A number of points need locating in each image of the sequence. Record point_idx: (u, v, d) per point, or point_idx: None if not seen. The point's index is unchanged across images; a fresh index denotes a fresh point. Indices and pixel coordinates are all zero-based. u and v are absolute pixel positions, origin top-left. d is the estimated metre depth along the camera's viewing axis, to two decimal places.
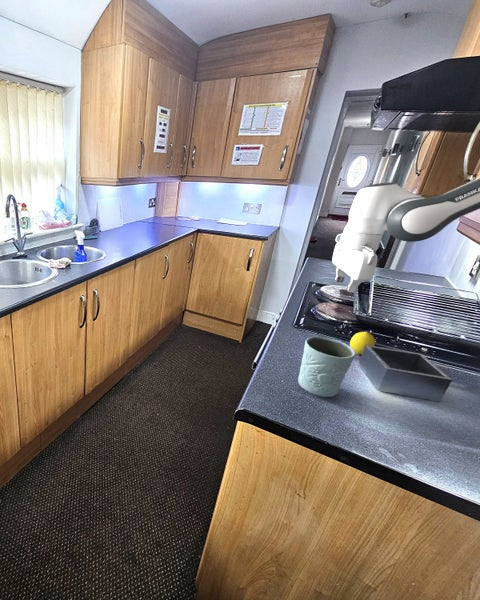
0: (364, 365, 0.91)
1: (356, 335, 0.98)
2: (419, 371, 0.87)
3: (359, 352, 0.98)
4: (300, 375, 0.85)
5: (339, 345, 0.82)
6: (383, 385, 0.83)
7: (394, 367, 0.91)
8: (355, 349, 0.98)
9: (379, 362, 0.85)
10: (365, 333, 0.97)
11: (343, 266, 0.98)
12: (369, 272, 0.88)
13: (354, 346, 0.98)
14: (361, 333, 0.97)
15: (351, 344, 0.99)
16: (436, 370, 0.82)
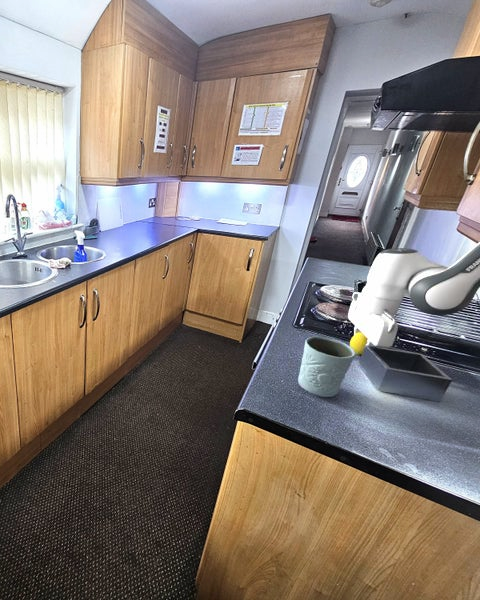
0: (364, 365, 0.91)
1: (356, 335, 0.98)
2: (419, 371, 0.87)
3: (359, 352, 0.98)
4: (300, 375, 0.85)
5: (339, 345, 0.82)
6: (383, 385, 0.83)
7: (394, 367, 0.91)
8: (355, 349, 0.98)
9: (379, 362, 0.85)
10: None
11: (361, 326, 0.97)
12: (389, 339, 0.87)
13: (354, 346, 0.98)
14: (361, 333, 0.97)
15: (351, 344, 0.99)
16: (436, 370, 0.82)
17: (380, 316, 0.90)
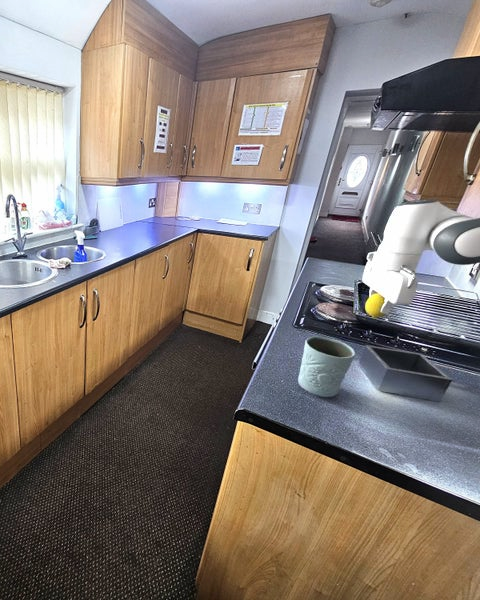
0: (364, 365, 0.91)
1: (372, 296, 0.93)
2: (419, 371, 0.87)
3: (375, 314, 0.93)
4: (300, 375, 0.85)
5: (339, 346, 0.82)
6: (383, 385, 0.83)
7: (394, 367, 0.91)
8: (371, 311, 0.93)
9: (379, 362, 0.85)
10: None
11: (377, 287, 0.92)
12: (409, 296, 0.82)
13: (370, 308, 0.93)
14: (377, 294, 0.93)
15: (367, 306, 0.94)
16: (436, 370, 0.82)
17: (398, 272, 0.85)
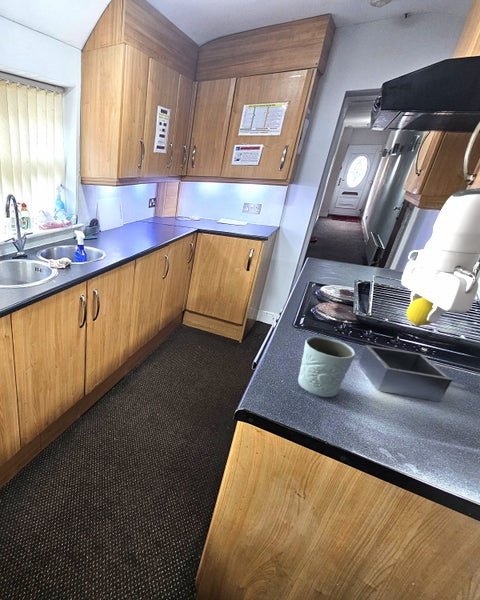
0: (364, 365, 0.91)
1: (416, 301, 0.81)
2: (419, 371, 0.87)
3: (420, 322, 0.80)
4: (300, 375, 0.85)
5: (339, 346, 0.82)
6: (383, 385, 0.83)
7: (394, 367, 0.91)
8: (414, 318, 0.81)
9: (379, 362, 0.85)
10: None
11: (422, 290, 0.80)
12: (466, 302, 0.70)
13: (414, 314, 0.80)
14: (422, 298, 0.80)
15: (409, 313, 0.82)
16: (436, 370, 0.82)
17: (452, 274, 0.72)
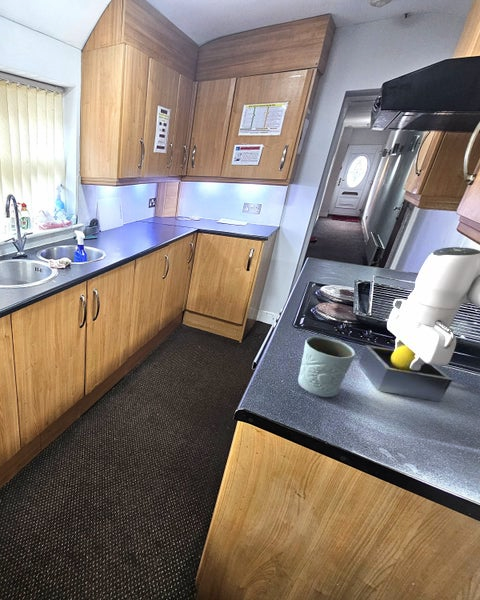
0: (364, 365, 0.91)
1: (399, 349, 0.84)
2: (419, 371, 0.87)
3: (403, 369, 0.84)
4: (300, 375, 0.85)
5: (339, 346, 0.82)
6: (383, 385, 0.83)
7: (394, 367, 0.91)
8: (398, 365, 0.84)
9: (379, 362, 0.85)
10: None
11: (405, 339, 0.83)
12: (445, 356, 0.73)
13: (397, 361, 0.84)
14: (406, 346, 0.84)
15: (393, 359, 0.85)
16: (436, 370, 0.82)
17: (433, 328, 0.76)
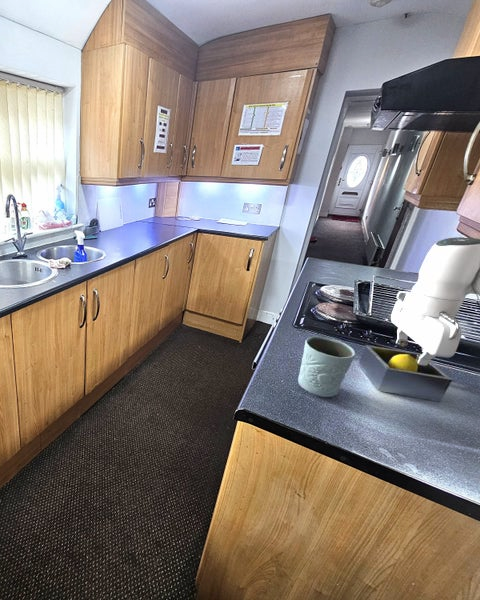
0: (364, 365, 0.91)
1: (395, 358, 0.85)
2: (419, 371, 0.87)
3: None
4: (300, 375, 0.85)
5: (339, 346, 0.82)
6: (383, 385, 0.83)
7: None
8: None
9: (379, 362, 0.85)
10: (406, 356, 0.84)
11: (410, 331, 0.82)
12: (451, 348, 0.72)
13: None
14: (401, 356, 0.85)
15: None
16: (436, 370, 0.82)
17: (437, 319, 0.75)
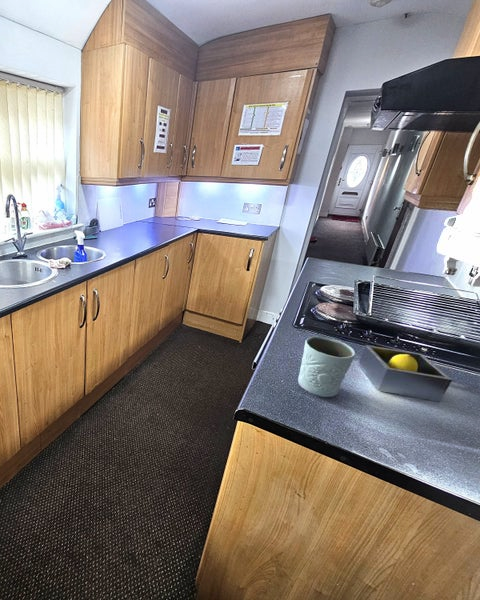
0: (364, 365, 0.91)
1: (395, 358, 0.85)
2: (419, 371, 0.87)
3: None
4: (300, 375, 0.85)
5: (339, 345, 0.82)
6: (383, 385, 0.83)
7: None
8: None
9: (379, 362, 0.85)
10: (406, 356, 0.84)
11: (461, 255, 0.81)
12: None
13: None
14: (401, 356, 0.85)
15: None
16: (436, 370, 0.82)
17: None
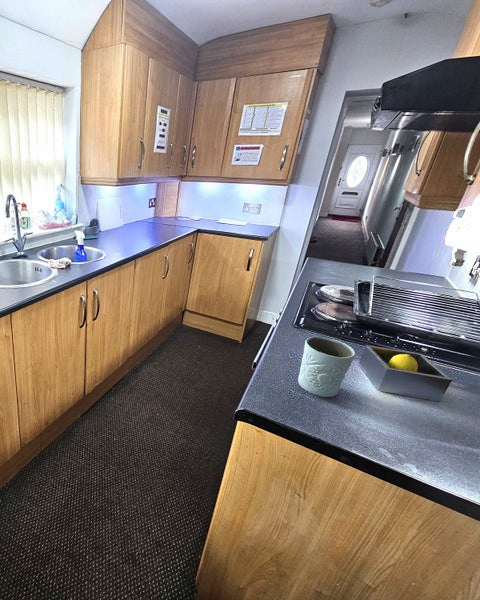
0: (364, 365, 0.91)
1: (395, 358, 0.85)
2: (419, 371, 0.87)
3: None
4: (300, 375, 0.85)
5: (339, 345, 0.82)
6: (383, 385, 0.83)
7: None
8: None
9: (379, 362, 0.85)
10: (406, 356, 0.84)
11: (470, 246, 0.82)
12: None
13: None
14: (401, 356, 0.85)
15: None
16: (436, 370, 0.82)
17: None
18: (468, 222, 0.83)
